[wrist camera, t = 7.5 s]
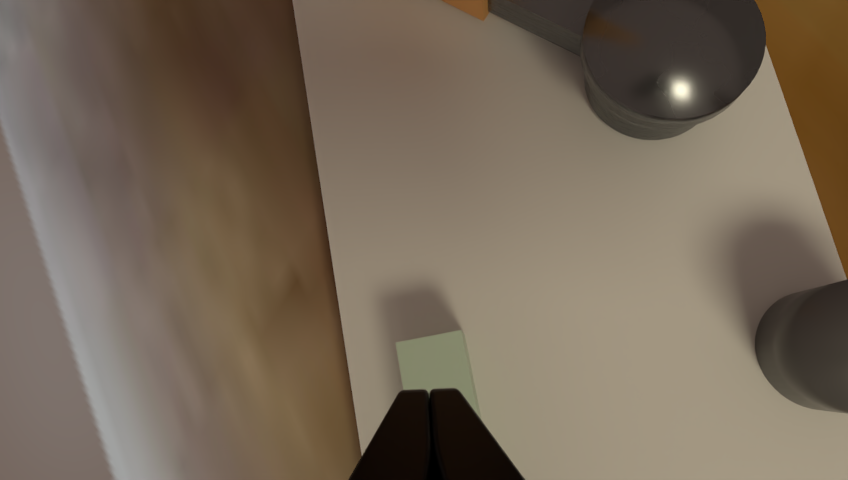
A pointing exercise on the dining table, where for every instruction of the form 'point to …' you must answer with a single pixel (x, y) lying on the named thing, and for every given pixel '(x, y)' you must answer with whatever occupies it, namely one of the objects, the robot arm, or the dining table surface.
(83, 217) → the dining table surface
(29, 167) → the dining table surface
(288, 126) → the dining table surface
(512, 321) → the base plate
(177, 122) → the dining table surface
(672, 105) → the brown piece
